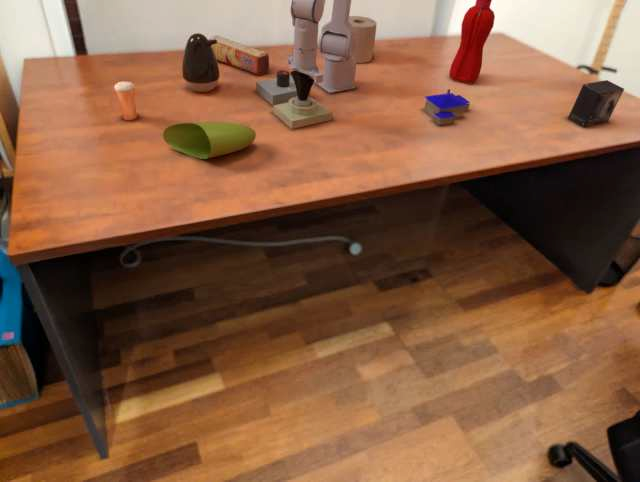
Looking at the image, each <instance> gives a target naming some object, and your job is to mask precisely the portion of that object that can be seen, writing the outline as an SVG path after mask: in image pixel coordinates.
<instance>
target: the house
mask: <svg viewBox="0 0 640 482" xmlns="http://www.w3.org/2000/svg"><path fill="white" fill-rule="evenodd" d="M423 97H424V98H425V99H426V100H425V104H424V109H423V111H424V112H426V114H428V116H430V117H431V118H433V122H434V123H435V124H437V125H438V126H445V125H452V124H453V122H454V119H461V118H463V115H464V112H468V111H469V108H470V103H471V102H470V100H468V99H466V98H465V97H464V96H462V95H460V94H457V95H456V94H455V93H453V92H451V89H450V88H449V89H447V92H446V93H441V94H435V95H434V94H433V95H426V96H425V95H424V96H423Z"/></svg>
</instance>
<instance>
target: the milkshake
mask: <svg viewBox="0 0 640 482" xmlns="http://www.w3.org/2000/svg"><path fill="white" fill-rule="evenodd" d="M113 87H114V88H113V89H114V91H115V94H116V97H117V100H118V104H119V108H120V111H121V114H122V115H121V116H122V118H123V120H126V121H134V120H136V119H137V118H138V116H137V106H136V93H135V92H136V91H135V84H134V83H132V74H129V78H128V81H124V80H123V81H118V82H117V83H115V84H114V86H113Z"/></svg>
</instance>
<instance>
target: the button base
mask: <svg viewBox="0 0 640 482" xmlns="http://www.w3.org/2000/svg"><path fill="white" fill-rule="evenodd" d="M294 98H295V97H293V98H291V99H290V100H288V103H283V104H278V105H272V106H273V107H272V109H273V110H272V111H273V112H272V113H273V114H274V115H275V116H276V117H277V118H278V119H280V120H281V121H282V122H283V123H284V124H286V125H287V126H288V128H290V129H291V130H293V129H298V128H303V127H305V126H306V127H307V126H312V125H315V124H319V123H324V122H328V121H331V119H332V112H331V111H330V110H329V109H327V108H326V107H325V106H323V105H322V104H321V103H319V102H318V101H316V100H315V99H314V98H312V97H310V98H311V106H308V107H299V106H296V105H294Z"/></svg>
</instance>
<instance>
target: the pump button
mask: <svg viewBox="0 0 640 482" xmlns="http://www.w3.org/2000/svg"><path fill="white" fill-rule="evenodd" d="M311 98H312V97H308V99H307V100H303V101H300V100H299V99H298V96H296V97H295V98H294V105H296V106H299V107H308V106H311Z"/></svg>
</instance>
